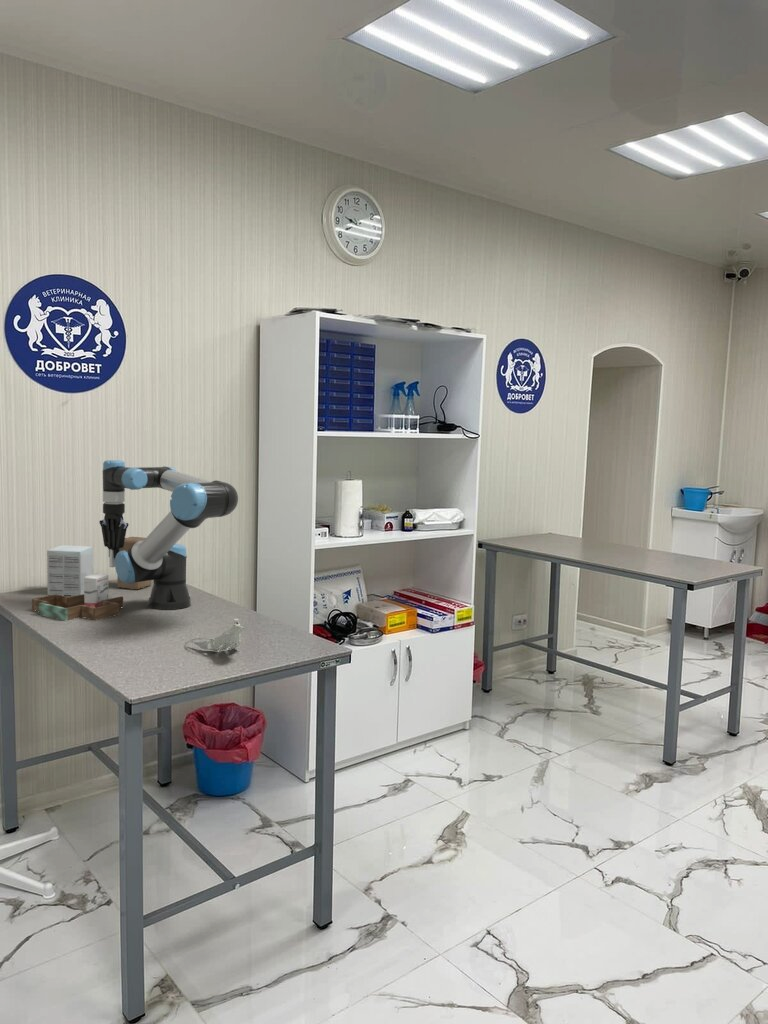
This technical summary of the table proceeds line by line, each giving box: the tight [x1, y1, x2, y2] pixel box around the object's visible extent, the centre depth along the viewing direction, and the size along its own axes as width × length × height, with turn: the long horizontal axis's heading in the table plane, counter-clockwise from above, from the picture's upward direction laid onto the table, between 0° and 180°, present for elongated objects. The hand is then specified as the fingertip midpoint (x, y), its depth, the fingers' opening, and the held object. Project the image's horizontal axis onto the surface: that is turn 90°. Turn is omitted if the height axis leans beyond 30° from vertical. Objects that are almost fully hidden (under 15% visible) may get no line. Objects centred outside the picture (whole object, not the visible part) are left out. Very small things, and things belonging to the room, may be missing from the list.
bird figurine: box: [184, 617, 247, 653], centre depth 234 cm, size 16×9×25 cm
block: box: [117, 536, 152, 590], centre depth 318 cm, size 10×10×20 cm
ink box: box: [84, 573, 109, 608], centre depth 282 cm, size 9×5×12 cm, turn 168°
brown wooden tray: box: [31, 594, 124, 621], centre depth 277 cm, size 28×24×4 cm
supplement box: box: [46, 544, 94, 597], centre depth 305 cm, size 13×13×18 cm
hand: (113, 566), depth 288 cm, fingers closed
